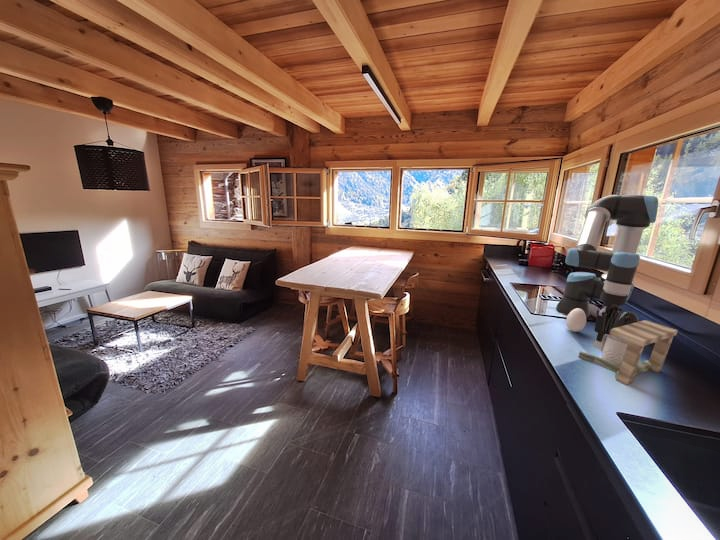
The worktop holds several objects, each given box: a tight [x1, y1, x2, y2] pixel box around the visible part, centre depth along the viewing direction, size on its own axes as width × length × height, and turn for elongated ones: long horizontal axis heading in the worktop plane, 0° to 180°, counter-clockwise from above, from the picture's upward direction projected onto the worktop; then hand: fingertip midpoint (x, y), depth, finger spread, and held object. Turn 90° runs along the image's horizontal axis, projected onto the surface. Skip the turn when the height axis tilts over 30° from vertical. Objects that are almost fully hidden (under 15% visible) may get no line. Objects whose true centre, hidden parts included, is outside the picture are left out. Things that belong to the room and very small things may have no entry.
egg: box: [565, 308, 587, 333], centre depth 135 cm, size 7×7×12 cm
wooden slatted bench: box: [578, 319, 679, 386], centre depth 107 cm, size 24×18×17 cm
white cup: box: [600, 334, 629, 367], centre depth 109 cm, size 8×8×10 cm
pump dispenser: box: [609, 310, 640, 333], centre depth 124 cm, size 10×10×15 cm
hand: (598, 347), depth 114 cm, fingers closed
